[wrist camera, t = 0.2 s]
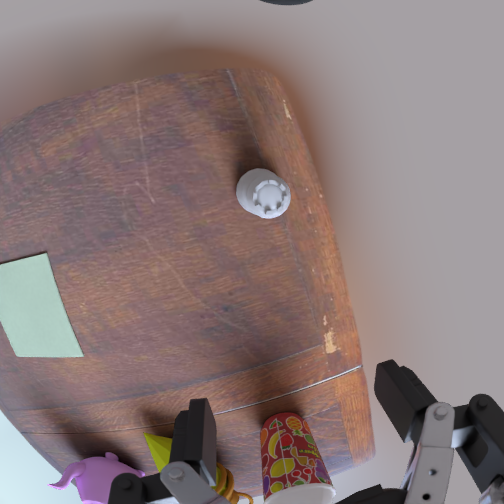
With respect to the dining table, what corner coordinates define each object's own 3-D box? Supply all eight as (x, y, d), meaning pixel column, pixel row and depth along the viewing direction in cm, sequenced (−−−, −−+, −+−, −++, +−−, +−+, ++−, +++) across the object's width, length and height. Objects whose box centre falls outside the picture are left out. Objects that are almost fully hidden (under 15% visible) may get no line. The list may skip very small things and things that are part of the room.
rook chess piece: (289, 200, 29) (312, 210, 21) (250, 222, 29) (258, 239, 21) (268, 160, 28) (283, 155, 20) (227, 182, 28) (227, 185, 20)
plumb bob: (125, 427, 36) (221, 503, 39) (115, 462, 27) (228, 536, 31) (168, 402, 37) (260, 484, 41) (165, 438, 28) (273, 517, 32)
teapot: (55, 443, 37) (34, 488, 24) (86, 424, 35) (63, 481, 23) (134, 493, 42) (126, 538, 29) (176, 481, 40) (171, 535, 28)
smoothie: (319, 425, 38) (358, 534, 18) (271, 447, 38) (291, 555, 19) (295, 396, 35) (334, 525, 16) (242, 421, 36) (254, 547, 17)
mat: (-17, 268, 27) (-18, 269, 27) (47, 252, 28) (46, 253, 28) (17, 355, 31) (16, 356, 31) (84, 355, 32) (83, 356, 31)
